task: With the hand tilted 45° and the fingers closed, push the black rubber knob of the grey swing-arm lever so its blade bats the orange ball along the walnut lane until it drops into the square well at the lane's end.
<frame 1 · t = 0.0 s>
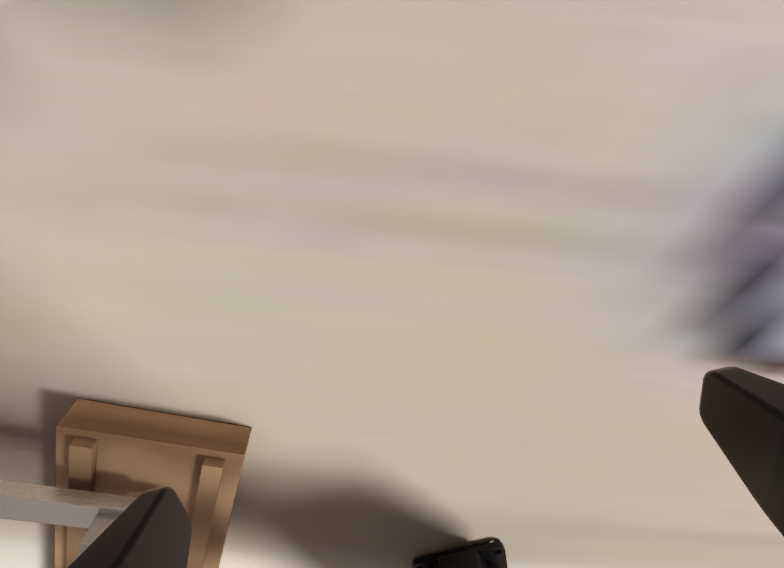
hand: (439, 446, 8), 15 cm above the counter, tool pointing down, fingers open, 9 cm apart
lane: (161, 459, 26), on the counter
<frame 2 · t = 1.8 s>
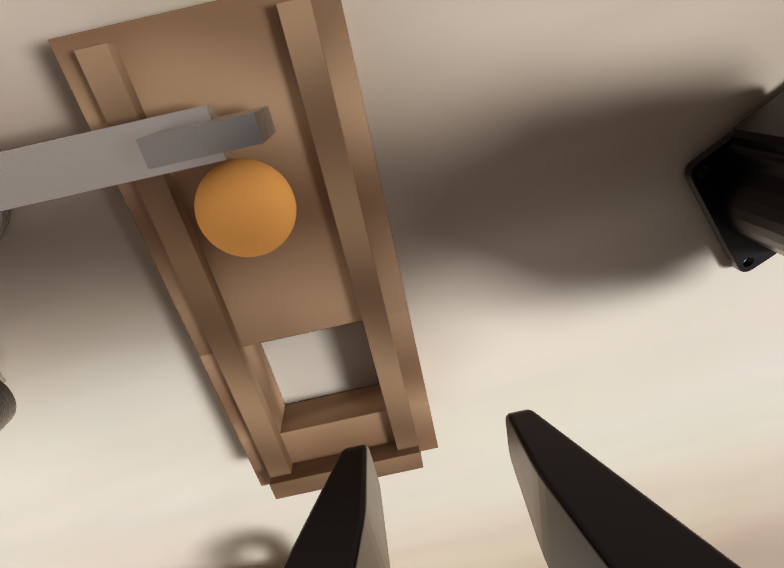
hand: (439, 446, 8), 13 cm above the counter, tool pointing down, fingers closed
ball: (255, 196, 16), point 2 cm above the counter, touching lane
lane: (243, 118, 17), on the counter
lever: (3, 332, 12), point 8 cm above the counter, hinge at 0.0°
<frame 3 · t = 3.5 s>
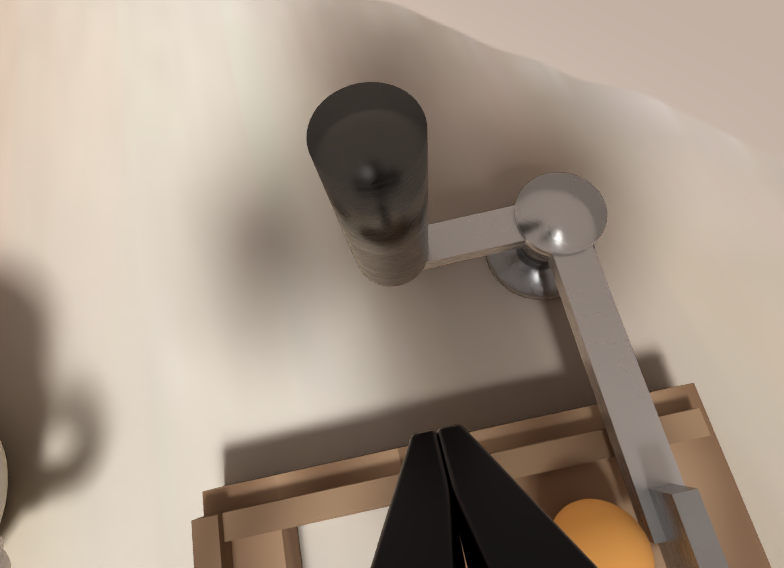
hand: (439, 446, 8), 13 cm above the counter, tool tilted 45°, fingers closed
ball: (583, 541, 17), point 2 cm above the counter, touching lane
lane: (628, 517, 19), on the counter
lever: (544, 359, 13), point 8 cm above the counter, hinge at 0.0°
pivot post: (537, 250, 22), on the counter
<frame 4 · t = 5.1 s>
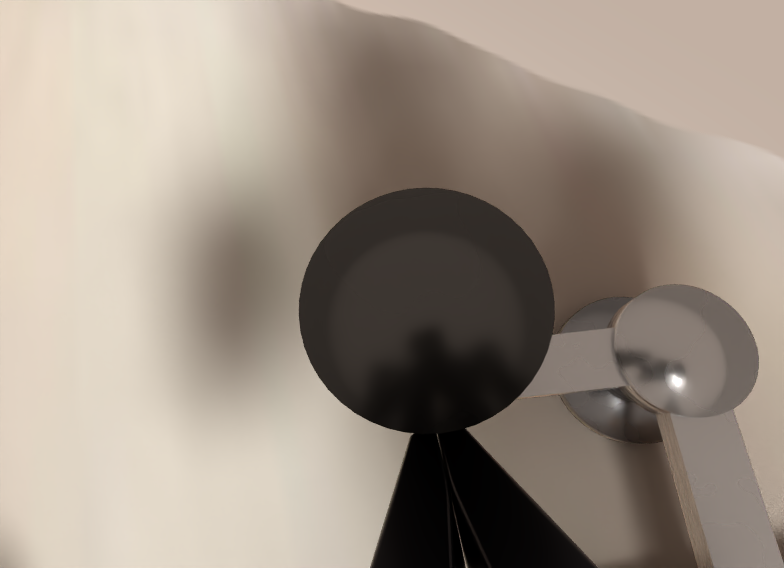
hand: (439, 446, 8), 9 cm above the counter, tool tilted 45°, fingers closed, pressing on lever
pivot post: (623, 368, 16), on the counter
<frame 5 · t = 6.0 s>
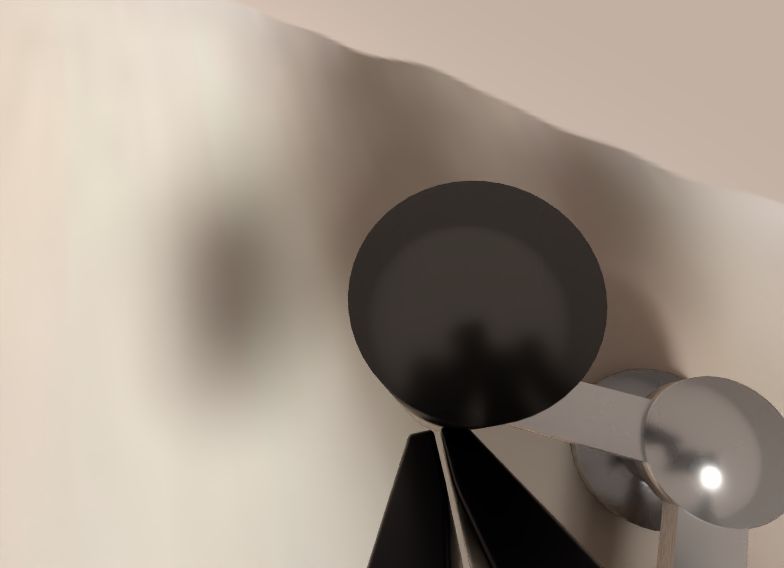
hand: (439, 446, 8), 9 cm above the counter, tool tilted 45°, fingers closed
pivot post: (646, 445, 15), on the counter
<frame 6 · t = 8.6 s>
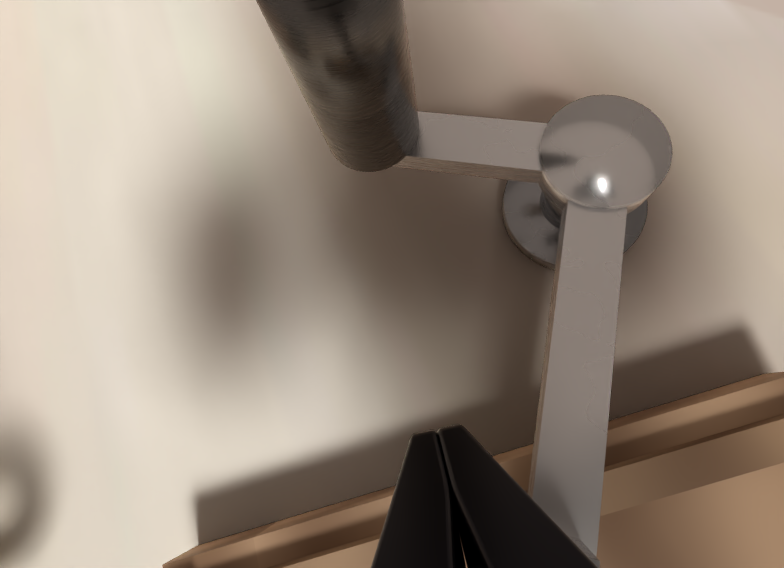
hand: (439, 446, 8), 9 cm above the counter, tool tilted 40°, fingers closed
lane: (726, 552, 14), on the counter
lever: (455, 302, 9), point 7 cm above the counter, hinge at -28.1°
pivot post: (570, 208, 17), on the counter
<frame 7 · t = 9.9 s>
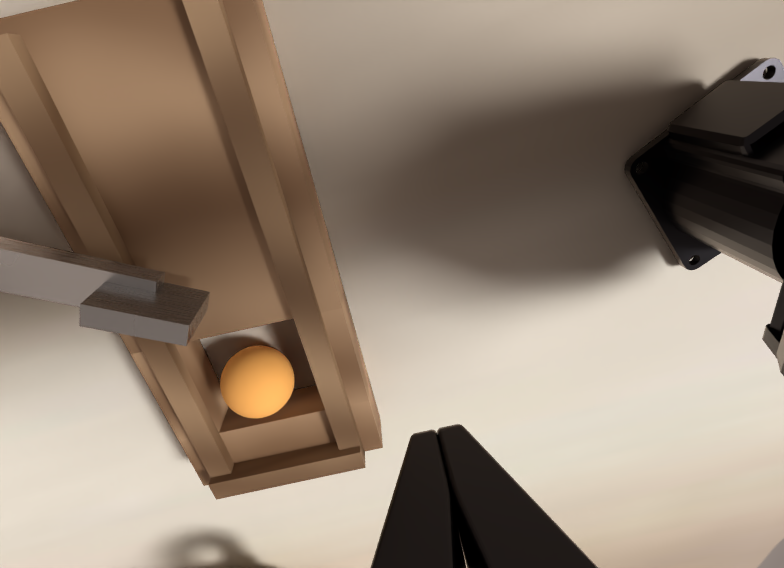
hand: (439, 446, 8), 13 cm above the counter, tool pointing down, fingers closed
ball: (267, 373, 22), resting in lane, tilted 25°
lane: (168, 112, 17), on the counter
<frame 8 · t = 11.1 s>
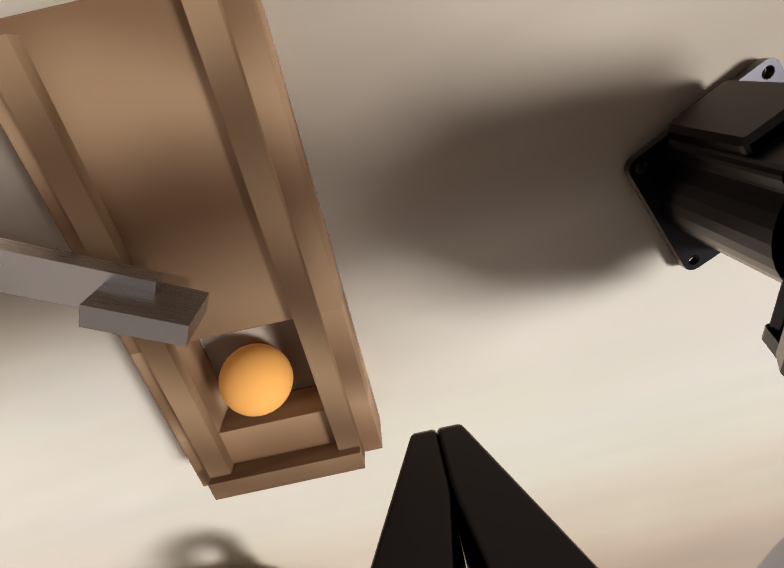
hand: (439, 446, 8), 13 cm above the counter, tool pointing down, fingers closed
ball: (267, 374, 22), resting in lane, tilted 30°
lane: (167, 112, 17), on the counter
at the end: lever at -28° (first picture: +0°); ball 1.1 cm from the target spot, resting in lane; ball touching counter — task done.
